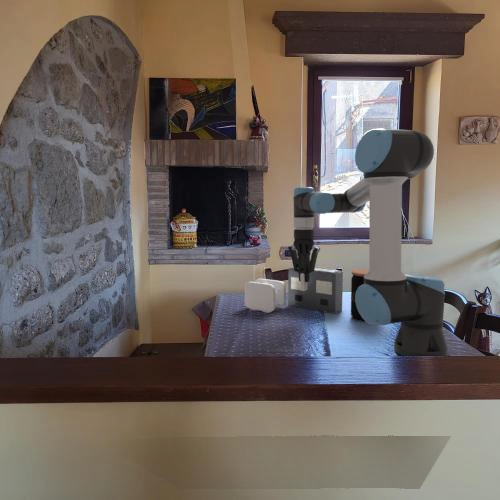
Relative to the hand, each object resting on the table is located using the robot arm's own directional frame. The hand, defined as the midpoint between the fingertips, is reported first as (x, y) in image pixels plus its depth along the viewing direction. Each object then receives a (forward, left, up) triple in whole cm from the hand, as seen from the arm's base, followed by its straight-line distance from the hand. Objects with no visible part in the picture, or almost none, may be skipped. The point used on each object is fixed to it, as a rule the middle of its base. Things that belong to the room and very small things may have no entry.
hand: (304, 290), depth 171 cm
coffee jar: (+12, -20, -11) cm, 25 cm away
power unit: (+14, +3, -11) cm, 18 cm away
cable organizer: (+1, +20, -11) cm, 22 cm away
